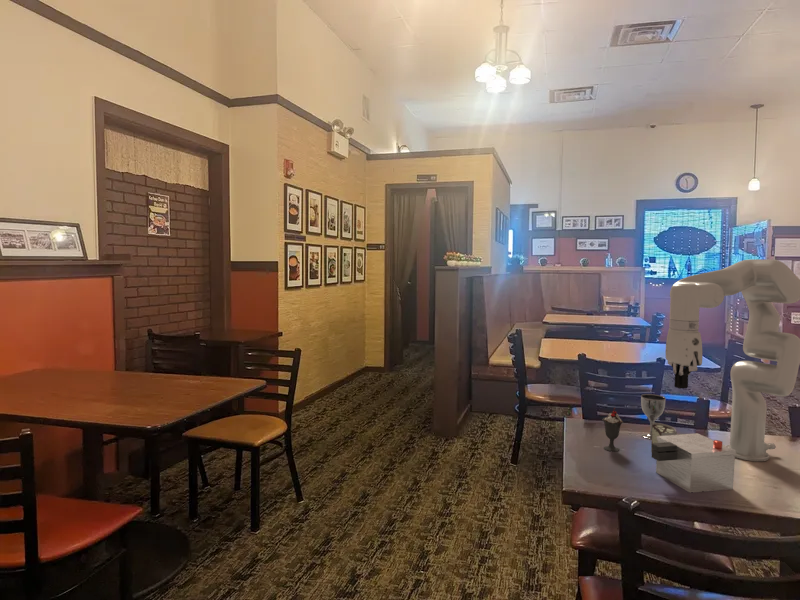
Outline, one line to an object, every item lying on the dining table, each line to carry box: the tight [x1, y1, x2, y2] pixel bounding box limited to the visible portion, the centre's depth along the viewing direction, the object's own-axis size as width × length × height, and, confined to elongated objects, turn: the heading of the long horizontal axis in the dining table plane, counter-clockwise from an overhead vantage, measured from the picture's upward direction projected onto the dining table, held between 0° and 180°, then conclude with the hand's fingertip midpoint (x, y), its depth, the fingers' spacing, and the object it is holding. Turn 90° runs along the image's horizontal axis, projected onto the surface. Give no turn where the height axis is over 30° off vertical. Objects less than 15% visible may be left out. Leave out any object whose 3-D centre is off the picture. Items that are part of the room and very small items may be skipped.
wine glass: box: [640, 393, 666, 441], centre depth 190 cm, size 8×8×15 cm
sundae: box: [601, 407, 624, 453], centre depth 177 cm, size 7×7×15 cm
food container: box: [650, 421, 678, 453], centre depth 170 cm, size 12×6×10 cm, turn 168°
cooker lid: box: [651, 433, 736, 458], centre depth 151 cm, size 20×14×3 cm
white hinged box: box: [651, 441, 736, 494], centre depth 152 cm, size 20×14×10 cm
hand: (681, 387), depth 153 cm, fingers closed
